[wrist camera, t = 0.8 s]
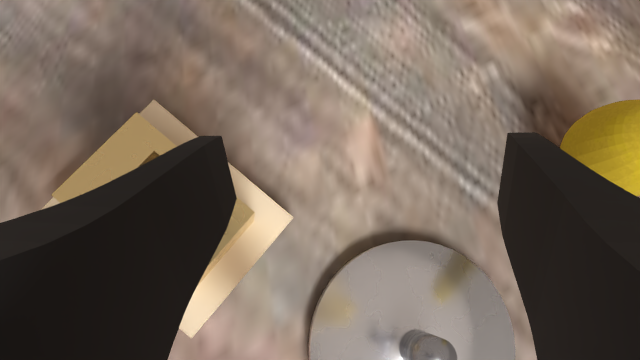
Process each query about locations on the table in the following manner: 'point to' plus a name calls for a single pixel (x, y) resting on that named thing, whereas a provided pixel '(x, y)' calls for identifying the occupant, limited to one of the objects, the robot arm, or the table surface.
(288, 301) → the table surface
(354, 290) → the hub
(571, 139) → the lemon
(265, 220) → the stand
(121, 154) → the gold open box
